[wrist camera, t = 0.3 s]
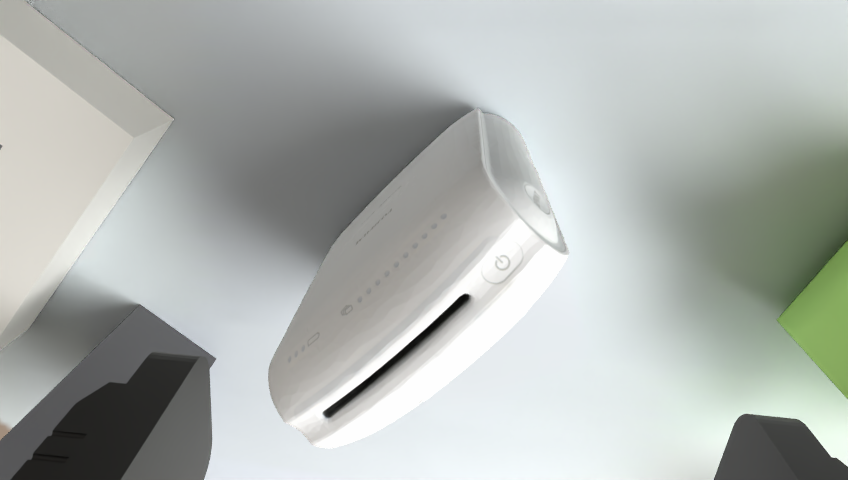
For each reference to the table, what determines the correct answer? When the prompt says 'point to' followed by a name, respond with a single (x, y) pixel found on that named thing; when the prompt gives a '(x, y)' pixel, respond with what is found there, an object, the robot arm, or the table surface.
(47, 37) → the socket
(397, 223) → the photo printer
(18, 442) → the plug
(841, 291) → the teapot
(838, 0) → the table surface
